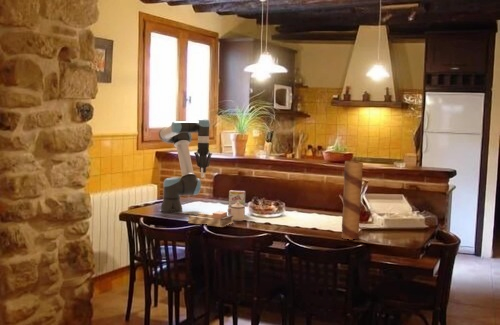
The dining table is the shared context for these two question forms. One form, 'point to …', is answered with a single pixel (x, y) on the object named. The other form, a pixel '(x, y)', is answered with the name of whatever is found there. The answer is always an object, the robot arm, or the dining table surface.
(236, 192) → the candy bar box
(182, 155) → the robot arm
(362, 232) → the dining table surface
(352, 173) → the wafer roll
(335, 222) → the dining table surface
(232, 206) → the teacup with lid
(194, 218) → the chute
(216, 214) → the block
